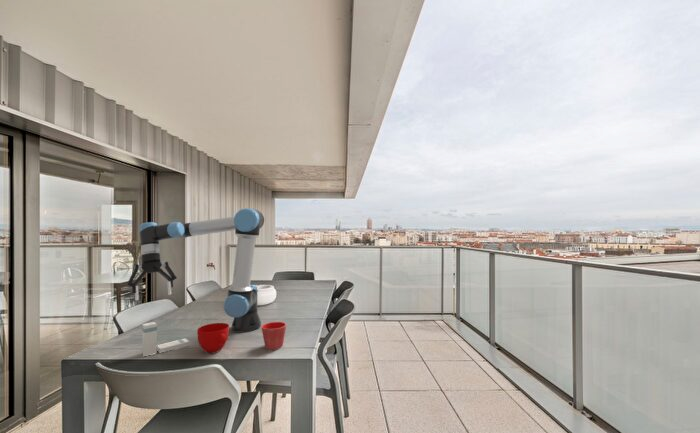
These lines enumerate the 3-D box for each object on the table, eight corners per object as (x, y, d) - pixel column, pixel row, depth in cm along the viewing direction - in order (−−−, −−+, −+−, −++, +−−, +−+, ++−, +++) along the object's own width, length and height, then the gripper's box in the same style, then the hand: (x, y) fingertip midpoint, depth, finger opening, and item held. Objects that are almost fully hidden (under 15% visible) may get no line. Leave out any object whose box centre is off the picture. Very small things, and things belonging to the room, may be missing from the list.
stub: (154, 351, 133) (154, 321, 133) (156, 353, 129) (157, 323, 130) (141, 354, 129) (142, 324, 130) (144, 357, 126) (144, 326, 127)
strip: (185, 342, 142) (185, 337, 142) (189, 345, 138) (189, 341, 138) (155, 350, 134) (155, 345, 134) (159, 353, 130) (159, 348, 130)
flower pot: (265, 342, 141) (265, 321, 141) (288, 342, 141) (288, 321, 141) (258, 351, 130) (258, 329, 131) (282, 351, 130) (282, 328, 130)
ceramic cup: (209, 361, 121) (209, 336, 121) (192, 351, 132) (192, 328, 132) (238, 351, 131) (238, 328, 131) (220, 342, 142) (220, 321, 142)
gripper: (175, 253, 158) (179, 293, 154) (117, 257, 139) (119, 303, 135) (181, 250, 153) (185, 291, 149) (121, 254, 134) (123, 302, 130)
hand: (154, 297), depth 142 cm, fingers open, 13 cm apart
